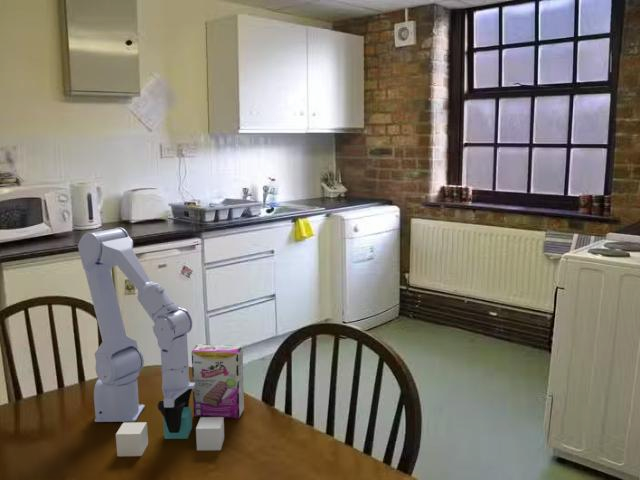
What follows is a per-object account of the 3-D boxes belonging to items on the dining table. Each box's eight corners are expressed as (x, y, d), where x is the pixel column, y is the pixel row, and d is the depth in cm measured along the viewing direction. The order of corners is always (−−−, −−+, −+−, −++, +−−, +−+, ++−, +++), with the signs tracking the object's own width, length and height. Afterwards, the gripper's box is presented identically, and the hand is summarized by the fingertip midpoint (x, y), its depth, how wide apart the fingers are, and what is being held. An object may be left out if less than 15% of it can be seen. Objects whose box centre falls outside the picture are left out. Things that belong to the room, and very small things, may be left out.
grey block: (196, 450, 126) (195, 428, 125) (201, 438, 131) (200, 417, 130) (220, 450, 126) (219, 428, 125) (224, 438, 131) (223, 417, 130)
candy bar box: (193, 417, 140) (190, 351, 137) (199, 408, 145) (196, 343, 142) (240, 419, 139) (238, 352, 136) (245, 409, 144) (243, 344, 141)
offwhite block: (117, 456, 124) (115, 434, 123) (124, 444, 129) (123, 422, 128) (141, 456, 124) (140, 433, 123) (148, 443, 129) (146, 422, 128)
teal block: (164, 439, 131) (163, 417, 130) (170, 427, 136) (168, 407, 135) (187, 438, 131) (186, 417, 130) (192, 427, 136) (191, 407, 135)
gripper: (186, 378, 123) (189, 439, 126) (199, 352, 137) (202, 408, 140) (152, 379, 123) (156, 440, 126) (168, 353, 137) (172, 408, 140)
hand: (178, 423), depth 133 cm, fingers open, 7 cm apart
